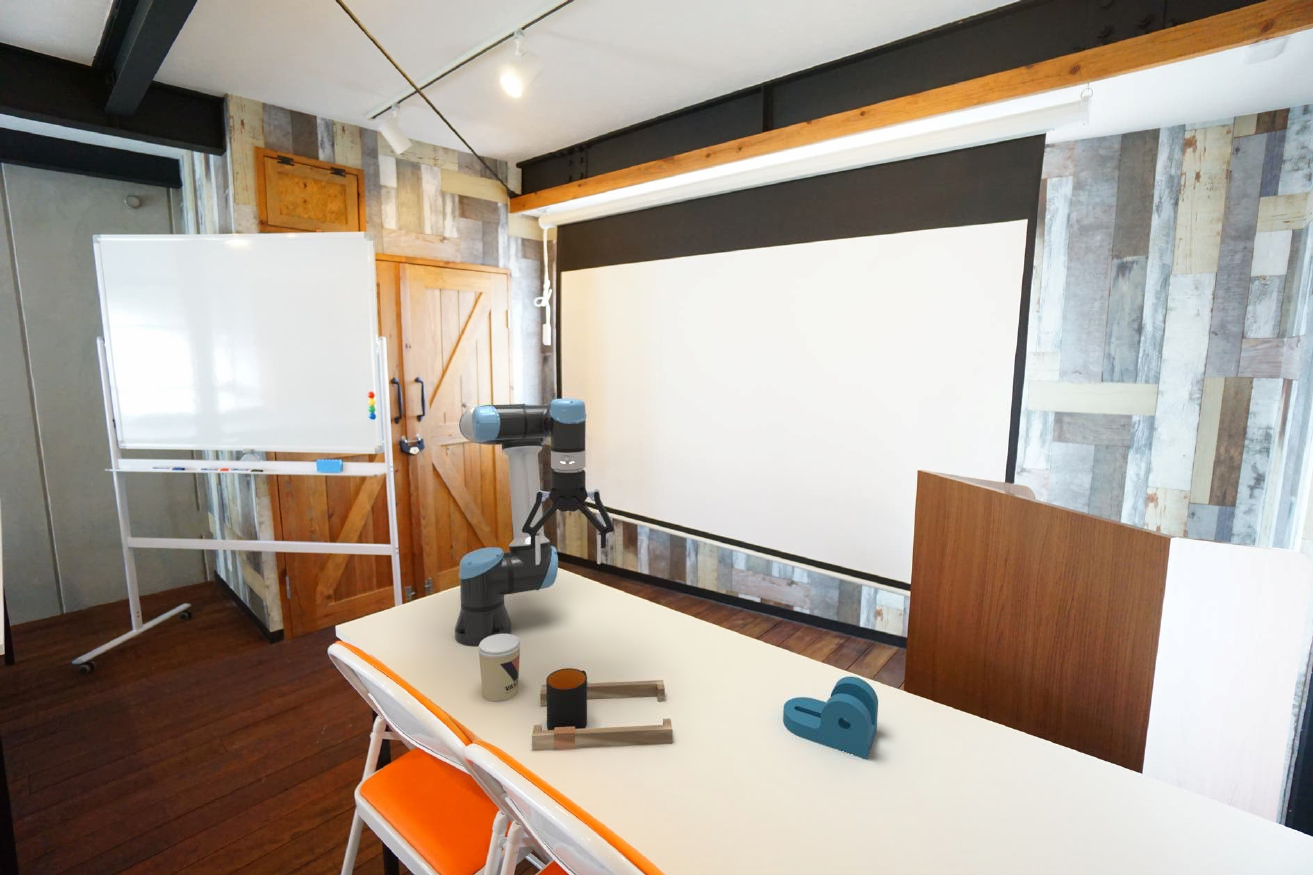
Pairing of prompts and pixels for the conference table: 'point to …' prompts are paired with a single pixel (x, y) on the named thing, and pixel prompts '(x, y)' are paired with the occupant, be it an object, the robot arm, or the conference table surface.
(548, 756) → the conference table surface
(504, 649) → the coffee cup
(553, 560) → the robot arm
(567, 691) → the mug
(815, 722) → the camera mount
